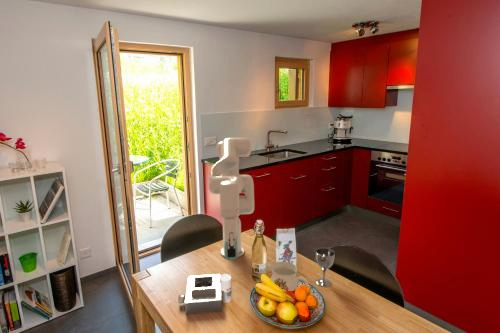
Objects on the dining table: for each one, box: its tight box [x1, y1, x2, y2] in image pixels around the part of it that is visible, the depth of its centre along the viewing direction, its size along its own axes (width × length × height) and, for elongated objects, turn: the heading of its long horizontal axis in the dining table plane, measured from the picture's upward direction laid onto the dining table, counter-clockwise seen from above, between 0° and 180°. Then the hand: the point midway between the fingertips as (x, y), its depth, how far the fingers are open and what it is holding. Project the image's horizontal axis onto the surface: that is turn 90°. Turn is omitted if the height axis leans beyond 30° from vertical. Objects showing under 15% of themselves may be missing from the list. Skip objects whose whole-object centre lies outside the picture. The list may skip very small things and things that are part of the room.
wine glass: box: [315, 247, 336, 288], centre depth 138 cm, size 8×8×15 cm
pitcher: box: [265, 261, 309, 291], centre depth 128 cm, size 11×18×14 cm, turn 67°
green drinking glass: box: [224, 234, 239, 261], centre depth 127 cm, size 5×5×10 cm
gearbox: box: [178, 273, 223, 315], centre depth 129 cm, size 18×17×8 cm
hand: (231, 252), depth 127 cm, fingers closed on green drinking glass, 5 cm apart
